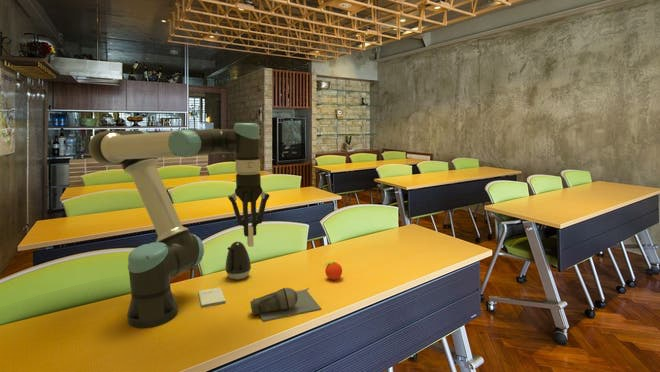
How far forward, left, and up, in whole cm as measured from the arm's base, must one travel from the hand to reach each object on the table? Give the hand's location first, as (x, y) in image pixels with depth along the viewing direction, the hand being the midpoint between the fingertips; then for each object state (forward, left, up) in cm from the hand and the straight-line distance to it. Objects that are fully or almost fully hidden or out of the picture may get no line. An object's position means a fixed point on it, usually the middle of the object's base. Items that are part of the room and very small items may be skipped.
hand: (250, 245), depth 120 cm
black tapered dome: (0, +33, -24) cm, 41 cm away
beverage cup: (-1, 0, -21) cm, 21 cm away
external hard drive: (-12, +18, -25) cm, 32 cm away
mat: (+12, +2, -24) cm, 27 cm away
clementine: (+35, +16, -24) cm, 45 cm away
